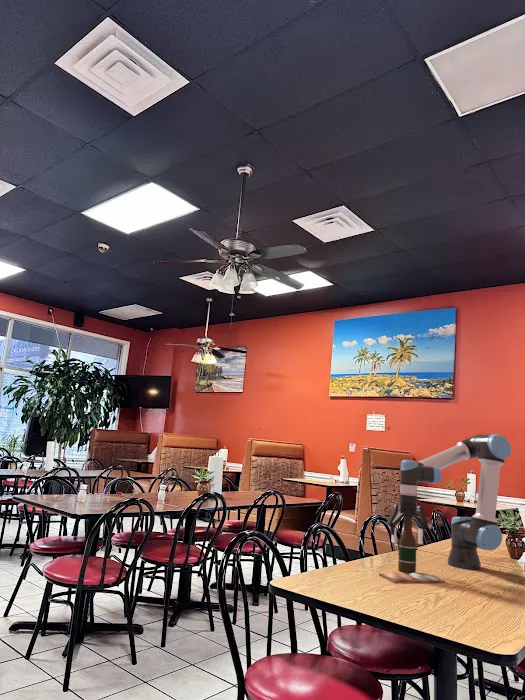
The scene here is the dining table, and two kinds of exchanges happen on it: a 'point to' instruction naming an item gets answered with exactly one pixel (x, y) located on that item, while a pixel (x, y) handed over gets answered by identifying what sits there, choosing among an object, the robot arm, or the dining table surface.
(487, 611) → the dining table surface
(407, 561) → the beer bottle
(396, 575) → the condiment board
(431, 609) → the dining table surface
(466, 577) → the dining table surface
